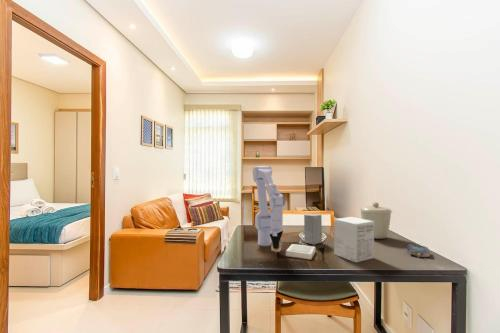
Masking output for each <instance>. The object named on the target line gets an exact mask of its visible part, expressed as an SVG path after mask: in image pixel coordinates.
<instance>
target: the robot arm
mask: <svg viewBox="0 0 500 333" xmlns="http://www.w3.org/2000/svg"><path fill="white" fill-rule="evenodd" d="M272 175H273V168H272V167H271V165H260V166H259V165H255V166H253V168H252V178H253V182H254V183H256V189H257V190H256V191H257V200H258V202H257V203H258V212H257V213H256V214H255V216H254V227H255V228H256V230H257V245H258V246H260V247H268V246H271V241H272V243H273V248H274V249H278V247H279V241H280V240H281V239H282V235H283V234H284V227H283V218H284V217H283V209H284V206H285V204H286V203H285V202H286V199H285V196H284V195H283V194H282V193H280V190H279V188H278V186H277V184H275V183H274V181H273V178H272ZM267 195H268V197H267ZM268 198H269V200H267V199H268ZM268 204H269V208H268ZM269 210H270V211H269Z"/></svg>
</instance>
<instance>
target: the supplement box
mask: <svg viewBox="0 0 500 333" xmlns="http://www.w3.org/2000/svg"><path fill="white" fill-rule="evenodd" d="M333 220H334V221H333V222H334V226H333V227H334V228H333V229H334V231H333V233H334V236H333V238H334V239H333V244H334V245H333V249H334V250H333V254H334V256H338V257H340V258H343V259H346V260H348V261H350V262H353V263H359V262H363V261H368V260H371V259H374V257H375V238H374V221H370V220H365V219H362V218H359V217H354V216H347V217H339V218H334V219H333Z"/></svg>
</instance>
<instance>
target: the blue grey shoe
mask: <svg viewBox="0 0 500 333" xmlns="http://www.w3.org/2000/svg"><path fill="white" fill-rule="evenodd" d="M406 245H407V246H406V248H407V252H408V254H410V255H412V256H416V257H418V258H422V257H423V258H428V257H430V256H431V253H430V250H429V248H428V247H427V246H426V245H419V244H417V245H415V244H411V243H408V244H406Z"/></svg>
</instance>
